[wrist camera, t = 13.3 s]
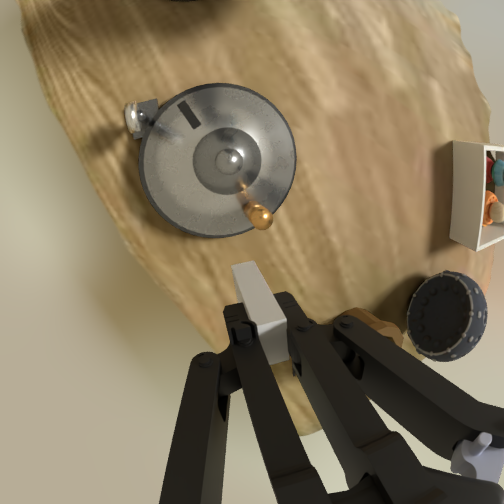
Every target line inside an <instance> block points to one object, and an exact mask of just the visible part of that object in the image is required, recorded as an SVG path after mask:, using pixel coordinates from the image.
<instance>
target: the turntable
mask: <svg viewBox="0 0 504 504" xmlns="http://www.w3.org/2000/svg"><path fill="white" fill-rule="evenodd" d="M226 127H230V128H237V129H240V130H242V131H244V132H246V133H247V134H249V135H250V136H251V137H252V138H253V139H254V140H255V141H256V143H257V145H258V147H259V149H260V152H261V159H262V162H261V169H260V172H259V174H258V176H257V178H256V180H255V181H254V182H253V183H252V185H250V186H249V187H248V188H247V189H245V190H244V191H242V192H239V193H237V194H232V195H221V194H217V193H214V192H211V191H210V190H208V189H206V188H205V187H204V186H203V185H202V184H201V183H200V182H199V180H198V179H197V177H196V175H195V172H194V168H193V163H192V158H193V152H194V149H195V147H196V145H197V144H198V142H199V141H200V140H201V139H202V138H203V137H204V136H205V135H207V134H208V133H210V132H212V131H214V130H216V129H219V128H226ZM293 171H294V148H293V143H292V139H291V136H290V133H289V131H288V129H287V127H286V125H285V123H284V121H283V120H282V118H281V117H280V116H279V114H278V113H277V112H276V111H275V110H274V109H273V108H272V107H271V106H270V105H269V104H268V103H266V102H265V101H264V100H262V99H260V98H259V97H257V96H255V95H253V94H251V93H249V92H246V91H243V90H239V89H235V88H228V87H215V88H207V89H203V90H199V91H196V92H193V93H190V94H188V95H186V96H184V97H182V98H181V99H179V100H177V101H176V102H175V103H173V104H172V105H171V106H170V107H169V108H168V109H167V110H166V111H165V112H164V113H163V114H162V115H161V116H160V117H159V119H158V120H157V121H156V123H155V125H154V126H153V128H152V130H151V132H150V135H149V137H148V140H147V143H146V147H145V153H144V173H145V179H146V183H147V186H148V189H149V191H150V193H151V196H152V198H153V199H154V201H155V202H156V204H157V205H158V207H159V208H160V209H161V210H162V211H163V213H164V214H165V215H167V216H168V217H169V218H170V219H171V220H172V221H174V222H175V223H177V224H178V225H180V226H182V227H184V228H186V229H188V230H191V231H194V232H197V233H201V234H206V235H227V234H233V233H237V232H241V231H244V230H246V229H248V228H251V227H253V226H254V227H255V228H256V229H258V230H266V229H268V228H269V227H270V226H271V225H272V223H273V215H272V212H273V211H274V210H275V209H276V208H277V206H278V205H279V204H280V203H281V201H282V199H283V198H284V196H285V195H286V193H287V190H288V188H289V186H290V183H291V180H292V176H293Z"/></svg>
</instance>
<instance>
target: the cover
mask: <svg viewBox="0 0 504 504" xmlns="http://www.w3.org/2000/svg"><path fill="white" fill-rule="evenodd" d="M261 162H262V159H261V152H260V149H259V147H258V145H257V143H256V141H255V140H254V139H253V138H252V137H251V136H250V135H249V134H247V133H246V132H244V131H242V130H240V129H237V128H230V127H226V128H219V129H216V130H214V131H212V132H210V133H208V134H207V135H205V136H204V137H203V138H202V139H201V140H200V141H199V142H198V144H197V145H196V147H195V149H194V152H193V158H192V163H193V168H194V172H195V175H196V177H197V179H198V180H199V182H200V183H201V184H202V185H203V186H204V187H205V188H206V189H208V190H210V191H211V192H214V193H217V194H221V195H232V194H237V193H239V192H242V191H244V190H245V189H247V188H248V187H249V186H250V185H252V183H253V182H254V181H255V180H256V178H257V176H258V174H259V172H260V169H261Z"/></svg>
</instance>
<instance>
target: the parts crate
mask: <svg viewBox="0 0 504 504" xmlns="http://www.w3.org/2000/svg"><path fill="white" fill-rule="evenodd" d="M486 150H491V151H496V161H497V160H498V159H501V160H502V161H503V162H504V145H498V144H491V143H481V142H469V141H455V140H453V199H452V214H451V226H450V235H449V238H450V239H452V240H454V241H456V242H458V243H460V244H462V245H464V246H466V247H468V248H470V249H472V250H474V251H475V252H477V251H479V250H481V249H483V248H486V247H488V246H490V245H492V244H494V243H496V242H498V241H500V240H502V239H504V220H503V221H502V222H500V223H496V222H494V221H493V222H492V223H491V224H489V225H487V226H485V227H484V226H482V222H483V213H484V202H485V187H486ZM495 196H496V197H497V199H498V202H500V203H502V204H503V205H504V186H500V187H497V186H496V185H495Z"/></svg>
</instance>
